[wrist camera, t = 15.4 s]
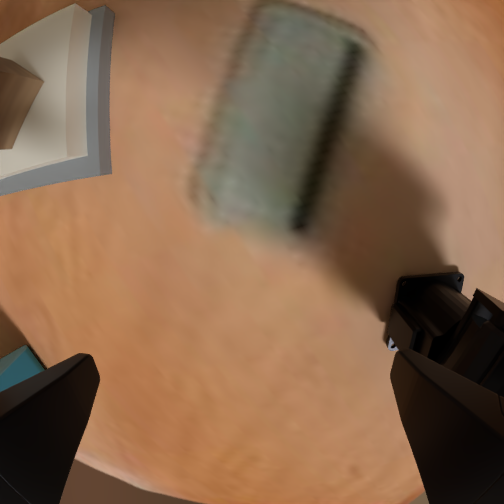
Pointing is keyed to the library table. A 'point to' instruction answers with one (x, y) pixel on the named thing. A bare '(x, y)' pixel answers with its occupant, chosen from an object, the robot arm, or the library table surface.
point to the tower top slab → (51, 90)
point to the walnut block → (15, 99)
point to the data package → (18, 367)
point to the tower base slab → (95, 117)
